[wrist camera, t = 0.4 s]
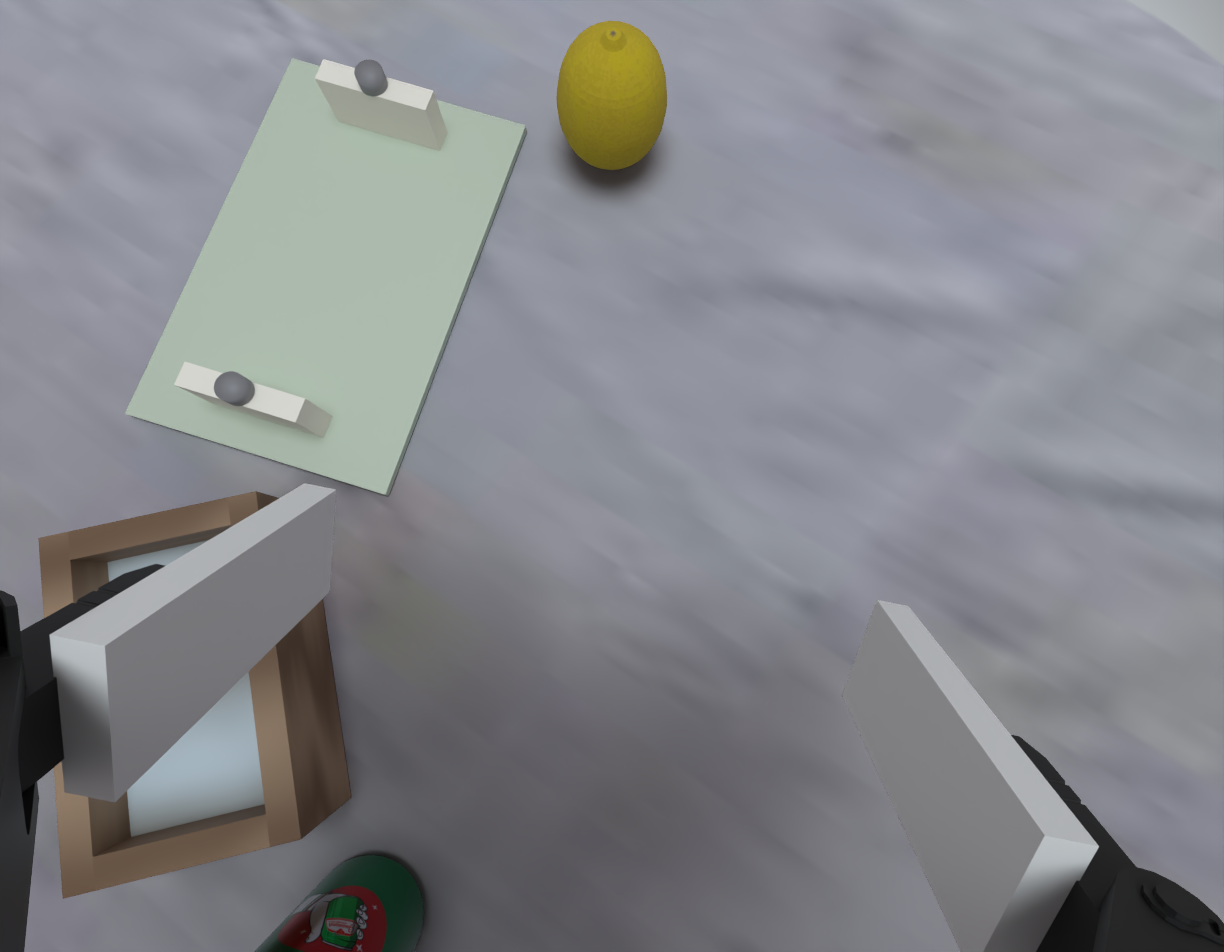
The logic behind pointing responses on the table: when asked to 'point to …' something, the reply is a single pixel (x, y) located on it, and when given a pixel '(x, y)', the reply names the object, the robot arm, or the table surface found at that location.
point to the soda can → (355, 912)
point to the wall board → (332, 275)
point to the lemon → (611, 95)
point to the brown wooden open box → (202, 727)
